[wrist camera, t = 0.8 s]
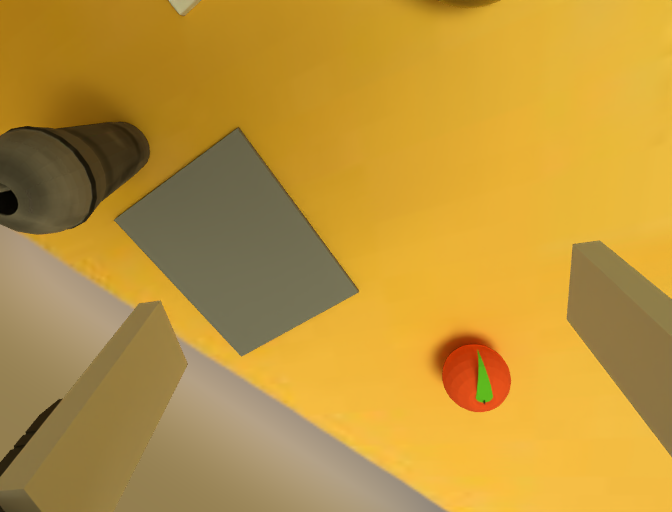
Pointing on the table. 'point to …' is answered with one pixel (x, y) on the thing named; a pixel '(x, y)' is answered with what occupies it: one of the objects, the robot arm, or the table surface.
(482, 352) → the clementine
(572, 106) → the table surface
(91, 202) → the beverage cup
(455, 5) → the black tapered dome
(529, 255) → the table surface
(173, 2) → the external hard drive
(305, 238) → the mat
